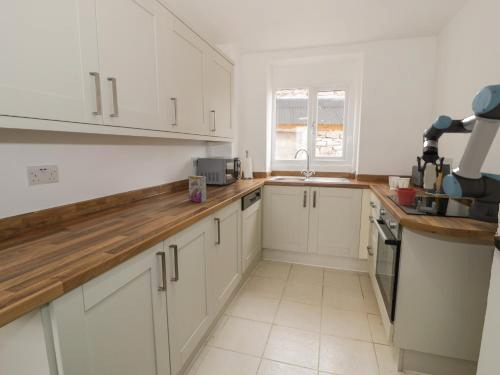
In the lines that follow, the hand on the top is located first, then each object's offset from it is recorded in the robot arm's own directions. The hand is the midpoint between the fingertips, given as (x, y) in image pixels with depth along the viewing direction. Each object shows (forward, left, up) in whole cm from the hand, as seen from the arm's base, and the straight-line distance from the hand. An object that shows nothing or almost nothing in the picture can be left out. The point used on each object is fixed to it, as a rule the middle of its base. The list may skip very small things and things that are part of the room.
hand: (429, 181), depth 146 cm
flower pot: (+19, -5, -18) cm, 27 cm away
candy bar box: (+61, +119, -18) cm, 135 cm away
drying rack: (+2, -3, -17) cm, 18 cm away
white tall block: (+3, -3, -4) cm, 6 cm away
